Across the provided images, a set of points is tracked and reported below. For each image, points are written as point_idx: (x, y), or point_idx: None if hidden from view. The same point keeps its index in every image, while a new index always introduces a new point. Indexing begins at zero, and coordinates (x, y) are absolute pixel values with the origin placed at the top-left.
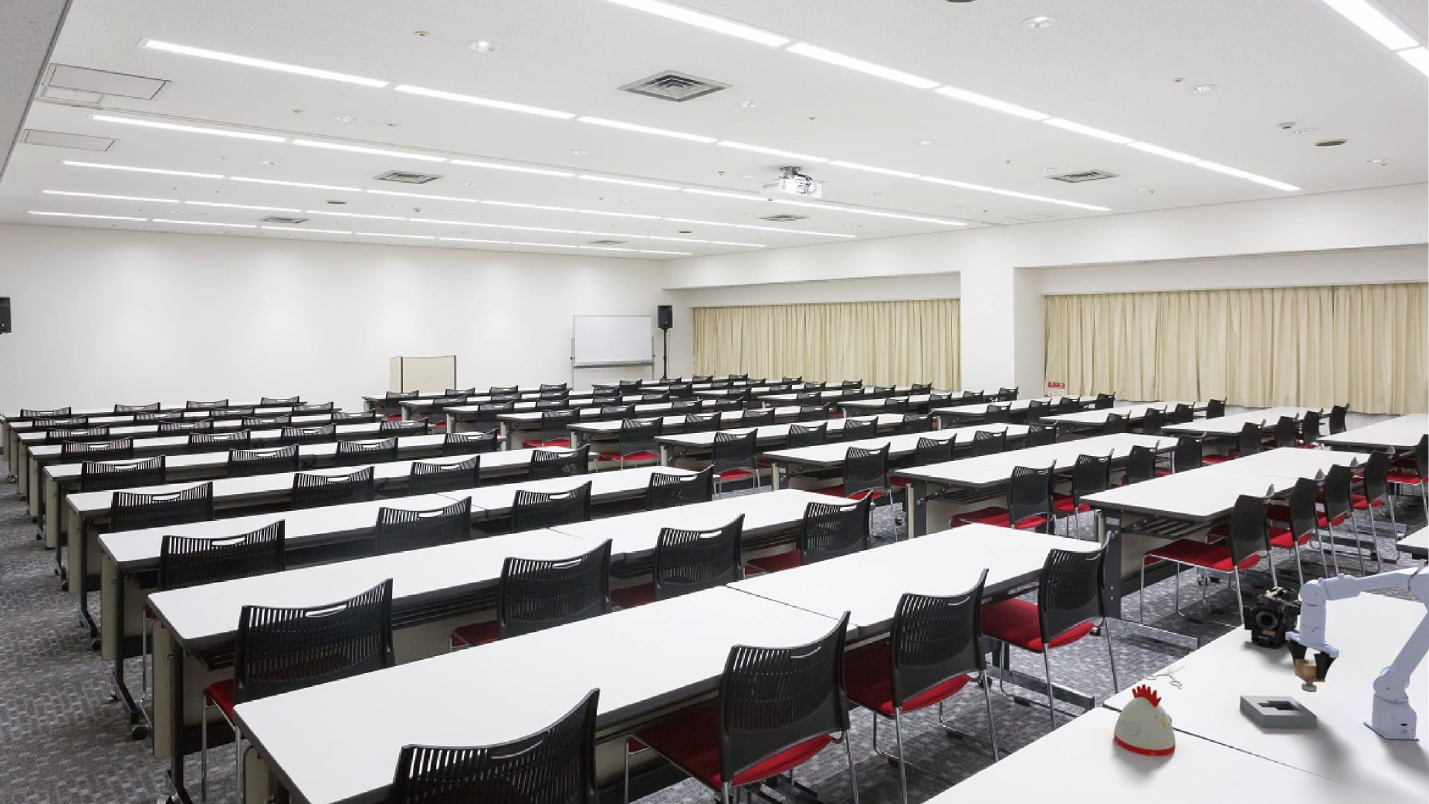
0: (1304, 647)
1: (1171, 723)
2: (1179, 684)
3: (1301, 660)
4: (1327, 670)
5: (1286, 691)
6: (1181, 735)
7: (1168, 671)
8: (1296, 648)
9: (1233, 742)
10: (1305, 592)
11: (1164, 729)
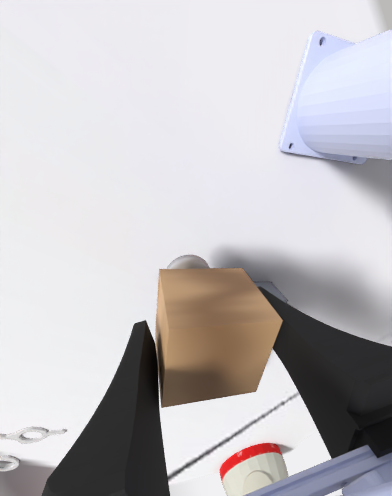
0: (143, 460)
1: (269, 478)
2: (42, 432)
3: (184, 391)
4: (291, 309)
5: (35, 230)
6: (243, 437)
7: None
8: (162, 490)
9: (274, 399)
10: None
11: None
